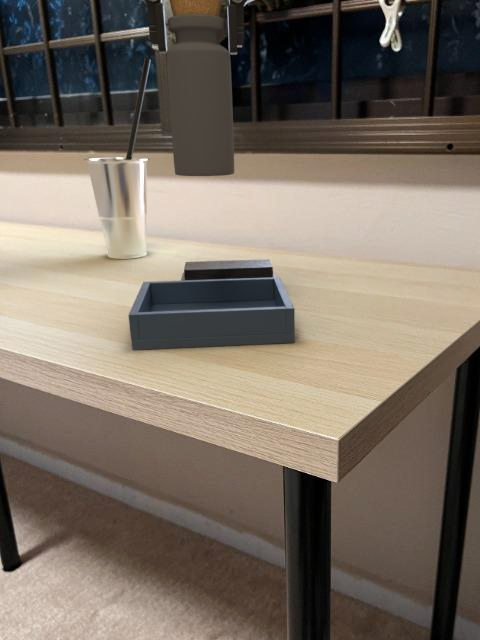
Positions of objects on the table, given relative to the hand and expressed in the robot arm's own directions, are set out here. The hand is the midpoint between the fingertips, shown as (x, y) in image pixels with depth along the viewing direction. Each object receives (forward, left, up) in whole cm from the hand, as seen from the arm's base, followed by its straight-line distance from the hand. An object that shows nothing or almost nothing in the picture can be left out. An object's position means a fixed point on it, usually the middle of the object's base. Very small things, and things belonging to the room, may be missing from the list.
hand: (198, 52), depth 56 cm
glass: (-14, +42, -26) cm, 52 cm away
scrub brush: (+2, +14, -26) cm, 30 cm away
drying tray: (0, -1, -26) cm, 26 cm away
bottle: (0, 0, -11) cm, 11 cm away
